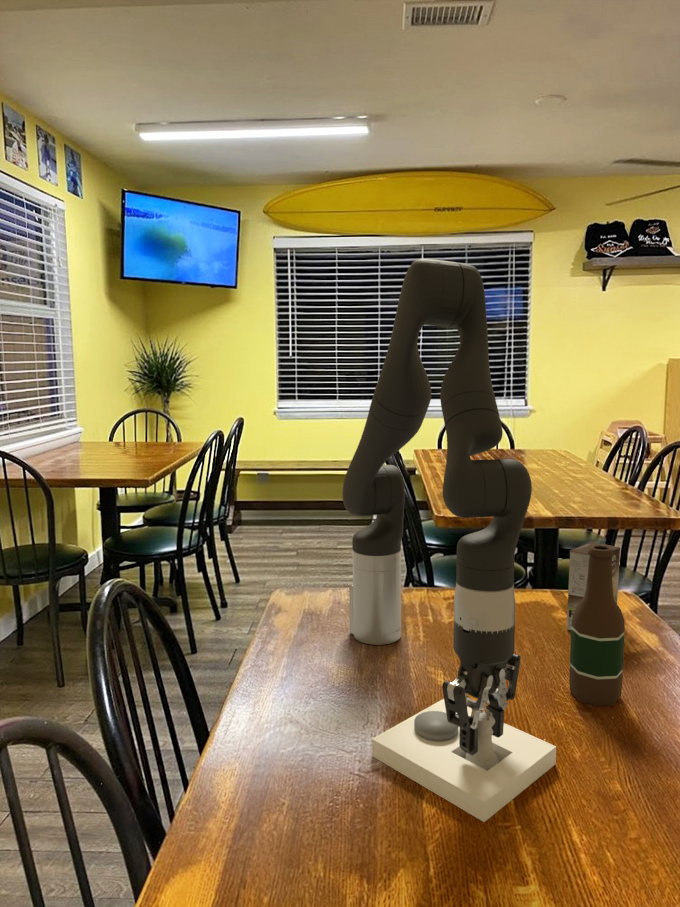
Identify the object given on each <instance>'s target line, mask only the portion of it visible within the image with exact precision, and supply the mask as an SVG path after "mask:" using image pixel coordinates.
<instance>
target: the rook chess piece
mask: <svg viewBox="0 0 680 907" xmlns="http://www.w3.org/2000/svg"><path fill="white" fill-rule="evenodd" d="M470 717H471V716H470ZM494 724H495V719H494V718H493V716H492V712H490V713H489V710H488V709H486V708H485V709H484V710H482V711H481V712H480V716H479V720H478V725H477V727H478V752H477V753H476V754H474V755H470V754H468V753H467V754H466V757H465V759H466V760H468V761H470V762H471V763H473V764H475V765H477V766H479V767H481V768H483V769H485V770H487V771H488V770H489V769H491V768H492V767H493V766H495V765H496V764H498V763H499V761H498V758H497V756H496V754H495V751H494V750H493V745H492V734H493V730H492V726H493V725H494Z"/></svg>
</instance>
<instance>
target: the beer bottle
mask: <svg viewBox="0 0 680 907" xmlns="http://www.w3.org/2000/svg"><path fill="white" fill-rule="evenodd" d="M588 554H589V555H590V558H589V567H588V577H587V586H586V591H585V595H584V598H583V599H582V600H581V601H580V602H579V604H578V605H577V606H576V609H575V611H574V613H573V616H572V624H571V631H570V647H569V648H570V649H569V650H570V652H569V653H570V654H569V656H570V657H569V678H568V679H569V691H570V693H571V692H572V693H571V694H572V695H573V696H574V697H575V698H576V700H578V702H581V701H582V703H585V704H588V705H591V706H595V707H604V706H614V705H616V703H617V702H618V701H619V699H620V698H621V696H622V691H623V689H622V688H623V678H624V677H623V676H624V673H623V672H624V654H625V637H626V636H625V634H626V630H625V625H626V624H625V618H624V615H623V612H622V609H621V608H620V607H619V604H618V602H617V603H616V602H615V600H614V595H613V583H612V556H614V552H613V549H611V548H609V547H607V546H602V545H596V546H592V547H590V548H589V551H588ZM617 700H618V701H617Z"/></svg>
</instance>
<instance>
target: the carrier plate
mask: <svg viewBox="0 0 680 907" xmlns="http://www.w3.org/2000/svg"><path fill="white" fill-rule="evenodd" d="M467 711H468V716H471V713H472V708H471V707H468V706H467ZM456 714H457V713H456ZM459 741H460V727H458V726H456V725H454V724H451V723H449V722H448V720H447V714H446V708H445V702H444V698H442V699H441V700H439V701H436V702H435V703H433V704H432V705H430V706H428V707H426V708H425V709H423V710H421V711H419V712H417V713H415V714H414V715H412V716H411V717H409V718H407V719H405V720H403V721H401V722H399V723H397V724H395V725H394V726H393V727H391V728H389V729H387V730H386V731H384V732H381V733H380V734H378V735H377V736H374V737H373V738H371V756H372V757H373V758H374V759H376V760H378V761H380V762H382V763H383V764H385V765H387V766H388V767H390V768H392V769H393V770H395V771H396V772H399V773H400V774H402V775H403V776H405V777H407V778H408V779H410V780H412V781H414V782H416V783H417V784H419V785H420V786H422V787H424V788H425V789H426V790H429V791H430V792H432V793H434V794H436V795H437V796H439V797H441V798H442V799H444V800H446V801H448V802H449V803H451V804H452V805H455V806H456V807H458V808H460V809H461V810H463V812H465V813H467V814H469V815H470V816H473V817H474V818H476V819H478V820H479V821H481V822H483V823H485V822H487V821H488V820H489V819H490V818H491V817H493V816H494V815H495V814H496V813H498V812H499V811H500V810H501V809H503V808H504V807H505V806H507V804H508V803H510V802H511V801H513V800H514V799H515V798H516V797H517V796H519V795H520V794H521V793H523V792H524V790H526V789H527V788H528V787H530V786H531V785H532V784H534V783H535V782H536V781H537V780H538V779H539V778H540V777H542V776H543V775H545V773H547V772H548V771H549V770H550V769H552V768H553V767H554V766H555V765H556V763H557V762H556V760H557V746H556V745H553V743H549V742H548V741H545V740H543V739H540V738H538V737H536V736H534V735H531V734H530V733H527V732H525V731H523V730H521V729H518V728H516V727H514V726H512V725H510V724H507V723H505V722H504V726H503V735H502V736H500V737H499V738H498V737H495V736H493V735H492V745H493V750H494V751H495V754H496V756H497V758H498V761H499V763H498V764H496V765H495V766H493V767H492V768H491V769H489V770H488V771H487V770H485V769H483V768H481V767H479V766H477V765H475V764H473V763H471V762H470V761H468V760H466V759H465V757H466V754H467V752H465V751H463V750H462V749H461V748H460V745H459Z"/></svg>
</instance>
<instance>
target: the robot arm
mask: <svg viewBox="0 0 680 907" xmlns="http://www.w3.org/2000/svg"><path fill="white" fill-rule="evenodd" d="M485 294H486V293H485V286H484V282H483V279H482V275H481V273H480V271H479V270H478V268H477V267H476V266H474V265H471V264H468V263H463V262H456V261H447V260H439V259H430V258H421V259H420V258H419V259H416V260H414V261H413V262H412V263H411V264H410V266H409V267H408V269H407V271H406V274H405V276H404V279H403V282H402V287H401V291H400V293H399V299H398V303H397V306H396V307H397V308H396V313H395V318H394V323H393V326H392V332H391V336H390V341H389V344H388V348H387V352H386V355H385V358H384V361H383V364H382V368H381V371H380V374H379V376H378V380H377V383H376V386H375V389H374V393H373V396H372V399H371V403H370V406H369V410H368V413H367V416H366V417H367V418H366V422H365V423H364V424H365V425H364V428H363V431H362V434H361V437H360V439H359V442H358V445H357V448H356V450H355V451H354V454H353V456H352V459H351V461H350V463H349V466H348V468H347V471H346V473H345V476H344V481H343V484H342V485H343V486H342V492H341V493H342V503H343V506H344V508H345V510H346V511H347V512H348V513H349V514H350V515H352V516H357V517H366V516H367V517H369V516H376V518H375V519H374V520H373V521H372V522H371V523H370V524H369V525H367V526H365V527H363V528H362V529H359V530H358V531H357V532H356V533H354V535H353V536H352V540H351V541H352V542H351V543H352V546H351V547H352V584H351V585H350V586H349V587H348V588H349V590H348V593H349V594H348V596H349V597H348V598H349V600H348V601H349V605H348V606H349V633H350V634H351V635H353V638H354V639H355V640H356V641H358V642H360V643H363V644H367V645H375V646H378V645H380V646H381V645H388V644H392V643H395V642H397V641H398V640H400V638H401V636H402V541H403V540H402V538H403V536H404V517H405V503H406V502H405V501H406V500H405V499H406V498H405V497H406V494H405V492H406V491H405V487H406V486H405V481H404V476H403V474H402V471H401V470H400V469H399V468H398V466H396V465H394V464H385V463H386V462H387V461H388V460H390V458H391V457H392V456H394V455H395V454H396V453H397V452H398V451H400V450H401V449H402V448H404V447H405V446H406V445H407V444H408V443H409V442H410V441H411V440H412V439H413V438H414V437H415V436H416V435H417V433H418V432H419V430H420V428H421V427H422V425H423V422H424V419H425V417H426V414H427V411H428V409H429V406H430V403H431V400H432V388H431V382H430V380H429V376H428V375H427V374H428V373H427V372H426V370H425V366H424V364H423V361H422V359H421V355H420V353H419V352H420V351H419V348H418V340H419V335H420V332H421V330H422V328H423V327H424V326H432V327H442V328H455V329H456V330H457V331H458V335H459V346H458V349H457V351H456V353H455V356H454V357H453V359H452V361H451V362H450V365H449V366H448V368H447V370H446V372H445V374H444V377H443V380H442V381H441V385H440V393H439V394H440V396H439V397H440V398H439V399H440V406H441V413H442V416H443V423H444V428H445V434H446V462H445V468H444V476H443V484H442V499H443V502H444V504H445V506H446V508H447V509H448V511H449V512H450V513H452V515H454V516H455V517H458V518H461V519H474V518H492V519H491V521H490V522H489V524H488V525H487V527H484V528H483V529H481V530H479V531H475V532H471V533H467V534H466V535H464V536H462V537H460V539H459V540H458V542H457V543H456V566H455V567H456V571H455V573H456V576H455V577H456V579H455V591H454V594H453V595H454V597H453V645H452V646H453V647H452V648H453V650H454V653H455V654H456V655H457V657H458V658H459V663H460V664H459V667H458V671H457V677H456V678H455V679H454V680H453V681H452V682H451V681H449V680H444V681H443V683H442V687H441V688H442V689H441V690H442V693H443V694H442V695H443V699H444V702H445V708H446V714H447V720H448V722H449V723H451V724H454V725H456V726H458V727H460V741H459V745H460V748H461V749H462V750H463V751H465V752H467V753H468V754H470V755H474V754H476V753H477V752H478V727H477V725H478V720H479V716H480V712H481V711H485V710H486V709H488V710H489V713H490V712H492V716H493V718H494V719H495V724H494V725H493V726H492V730H493V734H492V735H493V736H495V737H498V738H499V737H500V736H502V735H503V726H504V723H505V710H507V707H508V701H509V700H510V701H514V699H515V697H516V691H517V686H518V680H519V674H520V673H519V671H520V666H521V655H519V654H516V653H515V634H516V632H515V630H516V629H515V628H516V594H515V585H514V584H515V583H514V582H515V555H516V549H517V546H518V543H519V542H518V541H519V538H520V534H521V530H522V527H523V525H524V521H525V518H526V515H527V513H528V509H529V506H530V503H531V499H532V498H531V497H532V491H533V488H532V487H533V486H532V480H531V475H530V473H529V470H528V469H527V467H526V466H525V465H524V463H522V462H521V461H519V460H517V459H512V458H499V459H498V458H497V459H496V458H495V459H471V457H472V456H476V455H479V454H481V453H484V452H487V451H490V450H491V449H493V448H495V447H497V446H498V445H499V444H500V443H501V440H502V438H503V434H504V433H503V432H504V431H503V425H502V420H501V417H500V412H499V409H498V408H499V407H498V404H497V400H496V396H495V392H494V388H493V383H492V378H491V370H490V368H491V367H490V358H489V356H490V355H489V333H488V321H487V320H488V318H487V304H486V295H485ZM506 680H507V681H508V687H507V682H506ZM468 695H469V696H471V697H473V698H476V699H477V701H476V700H474V699H472V698H470V697H469V696H468ZM486 704H487V705H486ZM467 707H470V708H472V713H471V717H470V716H468V711H467ZM456 713H457V714H456Z"/></svg>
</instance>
